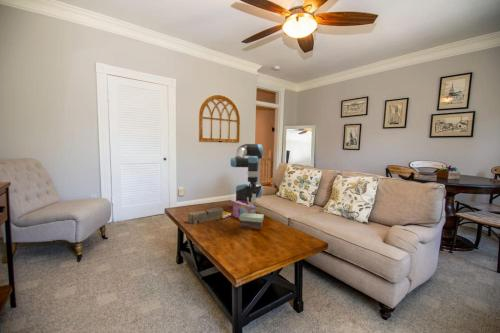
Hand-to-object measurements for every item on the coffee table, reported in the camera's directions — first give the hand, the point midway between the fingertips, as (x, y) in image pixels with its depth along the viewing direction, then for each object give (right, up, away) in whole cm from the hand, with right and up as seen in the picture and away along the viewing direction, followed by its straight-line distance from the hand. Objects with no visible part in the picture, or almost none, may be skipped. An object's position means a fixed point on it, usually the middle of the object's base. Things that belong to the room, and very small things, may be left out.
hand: (252, 203), depth 173 cm
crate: (0, -18, +2) cm, 18 cm away
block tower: (-38, -16, +17) cm, 45 cm away
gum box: (-7, -16, +22) cm, 28 cm away
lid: (0, -12, +1) cm, 12 cm away
